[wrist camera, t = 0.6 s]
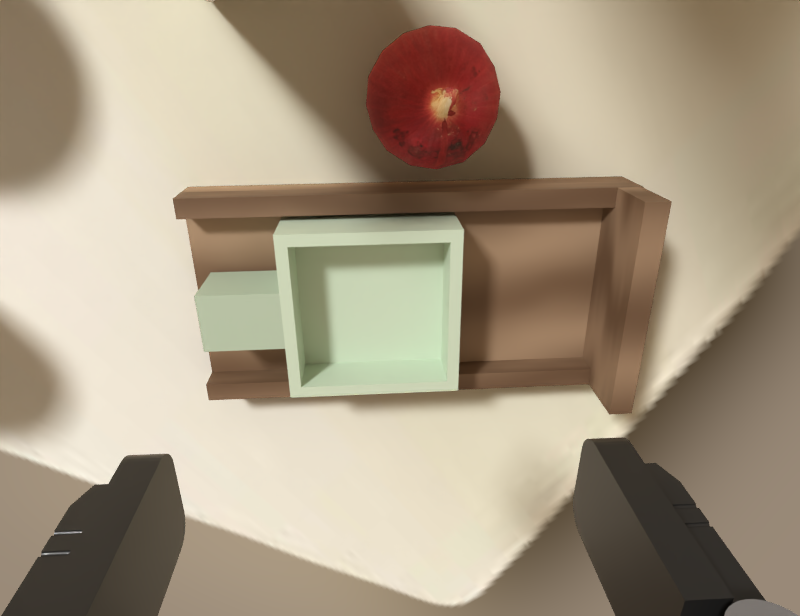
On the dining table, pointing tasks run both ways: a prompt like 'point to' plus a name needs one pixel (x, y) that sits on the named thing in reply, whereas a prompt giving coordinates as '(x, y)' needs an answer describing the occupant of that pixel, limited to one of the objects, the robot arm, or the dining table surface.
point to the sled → (349, 304)
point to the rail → (475, 273)
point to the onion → (433, 97)
